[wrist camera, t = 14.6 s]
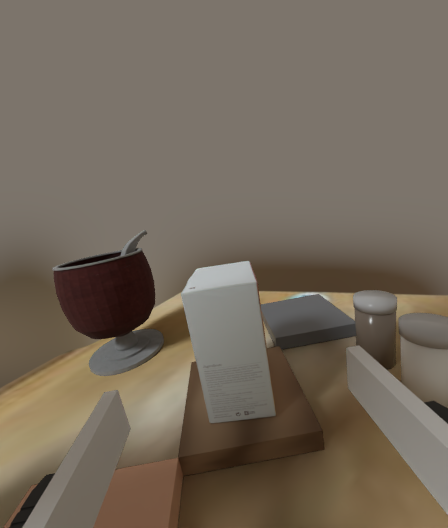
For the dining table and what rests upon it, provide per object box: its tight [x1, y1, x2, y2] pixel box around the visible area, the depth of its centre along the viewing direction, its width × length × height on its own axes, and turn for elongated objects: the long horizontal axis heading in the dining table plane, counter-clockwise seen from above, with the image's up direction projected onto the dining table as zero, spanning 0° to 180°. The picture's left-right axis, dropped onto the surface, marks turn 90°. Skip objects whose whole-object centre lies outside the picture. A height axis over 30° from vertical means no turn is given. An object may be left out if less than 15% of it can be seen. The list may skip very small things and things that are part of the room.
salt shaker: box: [399, 313, 448, 408], centre depth 20 cm, size 4×4×8 cm
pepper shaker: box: [353, 290, 397, 369], centre depth 27 cm, size 4×4×8 cm
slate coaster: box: [261, 294, 356, 349], centre depth 38 cm, size 12×12×2 cm
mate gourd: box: [52, 230, 164, 376], centre depth 38 cm, size 16×14×20 cm
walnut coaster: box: [178, 346, 324, 476], centre depth 24 cm, size 12×12×2 cm
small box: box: [181, 261, 276, 423], centre depth 23 cm, size 8×6×13 cm
